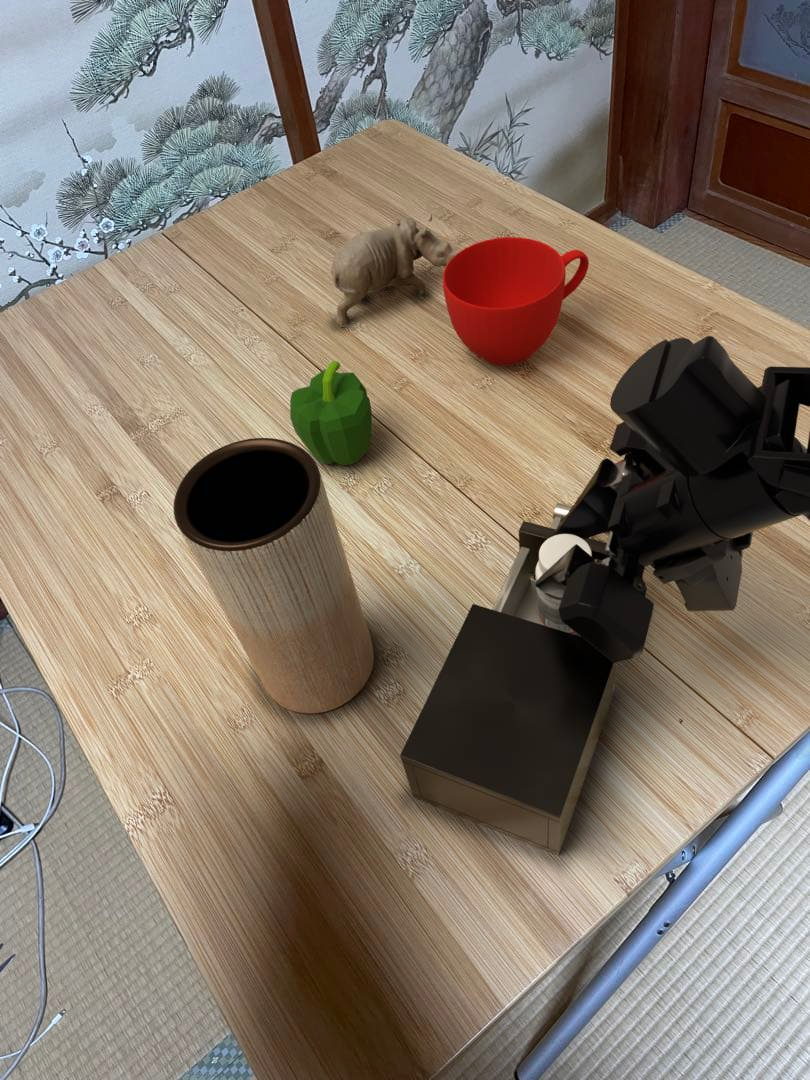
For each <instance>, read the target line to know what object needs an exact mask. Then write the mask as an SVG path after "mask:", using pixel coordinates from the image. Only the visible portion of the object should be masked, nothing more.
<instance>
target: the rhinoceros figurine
mask: <svg viewBox="0 0 810 1080" xmlns="http://www.w3.org/2000/svg"><path fill="white" fill-rule="evenodd" d="M432 221H433V214H430V215H429V216H428V219H427V222H428V223H431V222H432ZM394 222H395V223H392V224H391V225H390V226H387V227H383V228H379V229H376V230H375V229H374V230H370V231H365V232H362V233H359V234H356V235H354V236H353V237H352V238H350V239H348V240H347V241H346V242H344V243H343V244H341V246H340V247H339V248H338V250H337V251H336V252H335V253H334V256H333V260H332V264H331V270H330V274H331V277H332V282H333V286H334V287H335V288H336V289H338V290H339V291H340V292H341V293H343V295H344V297H343V298H342V300H341V301H340V302H339V304H337V308H336V315H335V320H336V324H337V325H339V326H340V328H344V327H347V326H349V325H350V324H351V323H352V320H351V319H350V316H348V314H347V313H348V312H349V310H350V309H352V308H353V307H354V306H356V305H358V304H359V303H363V302H366V301H367V297H368V296H369V295H368V294H369V293H372V292H375V291H379V290H382V289H384V288H387V287H403V288H409V287H413V288H416V290H418V296H419V297H418V298H419V299H420V300H424V299H425V297H427V296H428V292H426V284H425V283H424V281H423V279H421V278H420V277H419V276H417V275H415V273H414V270H415V267H414V261H417V260H418V259H421V258H422V257H423V258H424V259H425V260H426V261H428V262H430V263H431V265H433V267H436V268H440V267H446V265H447V264H448V263H449V261H450V260H451V259H452V258H453V257H454V256H455V255H456V254H457V253H459V252H460V251H461V250H458V249H457V250H456V249H453V247H452V246H451V244H450V242H448V241H443V240H440V239H439V238H437V236H435V235H434V234H433V233H432V232H431V230H429V229H428V226H427V225H425V227H424V228H422V227H419V228H418V227H417V222H416V221H415V219H414V218H412V217H404V218H402V219H400V220H399V219H398V220H395V221H394Z"/></svg>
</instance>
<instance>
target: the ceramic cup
mask: <svg viewBox="0 0 810 1080" xmlns="http://www.w3.org/2000/svg"><path fill="white" fill-rule="evenodd" d="M459 251H460V252H459V253H457V254H456V255H455V256H454V257H453V258H452V259H451V260H450V261H449V263H448V264H447V265H446V266H444V267H445V268H444V270H443V273H442V289H443V296H444V301H445V304H446V308H447V312H448V317H449V319H450V321H451V325H452V327H453V330H454V332H455V333H456V335H457V336H458V338H459V340H461V342H462V343H463V345H464V346H465V347H466V348H467V349H469V350H470V352H472V353H473V354H475V355H476V356H478V357H479V358H481V359H482V360H483V361H485V362H486V363H488V364H492V365H495V366H503V367H505V366H513V365H517V364H520V363H523V362H525V361H527V360H528V359H529V358H530V357H531V356H532V355H534V353H536V352H537V351H539V350H540V349H541V348H542V346H543V345H544V344H545V343H546V342H547V341H548V339H550V337H551V335H552V333H553V332H554V329H555V328H556V326H557V324H558V321H559V318H560V314H561V310H562V306H563V301H564V300H565V299H566V298H567V297H568V298H569V296H570V295H571V294H572V293H573V292H574V291H576V290H577V288H578V287H579V286H580V285H581V283H582V282H583V281H584V279H585V277H586V275H587V272H588V270H589V266H590V260H589V258H588V256H587V254H586V253H585V252H584V251H583V250H580V249H572V250H569V251H567V252H565V253H564V254H562V255H561V254H560V253H559V252H558V251H557V250H556V249H555V248H554V247H552V246H550V245H549V244H547V243H544V242H541V241H540V240H536V239H533V238H528V237H527V238H526V237H519V236H518V237H516V236H506V237H496V238H490V239H485V240H481V241H479V242H476V243H473V244H471V245H469V246H467V247H464V248H463V249H462V250H459ZM577 259H579V264H578V267H577V269H576V271H575V273H574V275H573V276H572V277H571V279H570V280H569V281H568V282H567V283H566V274H567V273H566V268H567V266H568V265H569V264H570V263H572V262H573V261H575V260H577Z"/></svg>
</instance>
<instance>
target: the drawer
mask: <svg viewBox="0 0 810 1080" xmlns="http://www.w3.org/2000/svg"><path fill="white" fill-rule="evenodd" d="M572 506H573V505H568V504H565V503H564V504H563V503H560V502H559V503H556V505H555V507H554V510H553V513H552V520H553V521H552V522H551V525H550V527H548V526H544V525H541V524H537V523H533V522H529V521H527V520H523V521H522V523H521V525H520V527H519V530H518V546H519V547H518V549H519V550H518V552H517V555H516V556H515V558H514V560H513V563H512V565H511V567H510V570H509V571H508V574H507V576H506V578H505V581H504V582H503V585H502V587H501V588H500V591H499V594H498V596H497V597H496V600H495V603H494V604H493V606H492V610H495V611H498V612H502V613H505V614H508V615H511V616H515V617H518V618H521V619H525V620H528V621H531V622H534V623H538V624H541V625H543V624H542V622H541V620H540V618H539V614H538V604H537V589H536V585H535V584H536V580H531V575H532V576H536V575H535V572H536V566H537V563H538V561H539V550H540V548H541V546H542V544H543V543H544V542H545V541H546V540H547V539H549V538H551V537H552V535H553V533H554V532H555V530H556V529H557V527H558V526H559V525H560V523H561V522H562V520H563V519H564V517H565V516H566V515H567V513H568V512H569V510H570V509H571V508H572ZM603 534H604V535H608V536H609V534H610V531H608V532H605V533H603ZM584 540H585V541H586V542H587V544H588V545H589V547H590V549H591V552H592V557H593V558H594V559H600V560H601V561H602V560H603V559H606V558H608V557H611V556H610V555H609V554H607V552H606V550H605V548H606V544H607V541H606V542H605V541H602V540H599V539H595V538H592V537H590V538H587V539H584ZM611 558H612V557H611ZM575 635H577V636H580V635H578V634H575ZM580 637H581V636H580Z"/></svg>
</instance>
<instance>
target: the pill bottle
mask: <svg viewBox="0 0 810 1080" xmlns="http://www.w3.org/2000/svg"><path fill="white" fill-rule="evenodd" d="M576 544H577V545H579V546H580V547H581V548H582V549H583V550H584V551H586V552H587V553H588V554H589V555H590V556H591V557H592V552H591V549H590V547H589V545H588V544H587V542H586V541H585V540H583V539H582V538H580V537H578V536H575V535H571V534H559V535H555V536H553V537H551V538H549V539H547V540H546V541H545V542H544V543H543V544H542V546H541V548H540V550H539V561H538V563H537V566H536V572H535V575H536V576H535V575H534V576H535V578H534V580H535V582H536V581H537V580H538V579H539V578H540V577H541V576H542V575H543V574H544V573H545V572H546V571H547V570H548V569H549V568H550V567H551V566H552V565H553V564H555V563H556V562H557V561H558V560H559V559H560V558H561V557H562V556H563V555H564V554H565V553H566V552H568V551H569V550H570V549H571V548H572V547H573V546H574V545H576ZM536 589H537V604H538V614H539V618H540V620H541V622H542V624H543V625H544V626H548V627H551V628H554V629H557V630H561V631H564V632H567V633H571V634H574V635H575V634H577V633H576V632H575V631H573V630H572V629H571V628H570V627H568V626H567V625H566V624H565V623H563V622H562V620H561V617H560V613H559V610H558V609H559V606H560V603H561V600H562V596H563V595H558V594H550V593H544V592H542V591H541V590H540V589H539V588H537V587H536Z"/></svg>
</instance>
